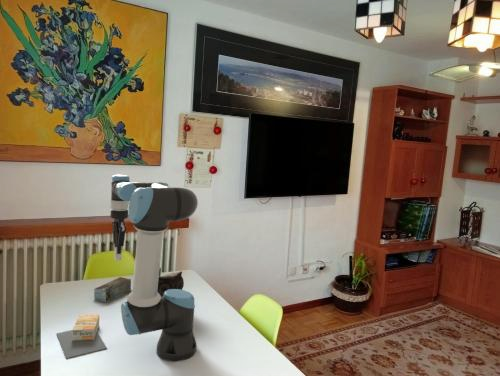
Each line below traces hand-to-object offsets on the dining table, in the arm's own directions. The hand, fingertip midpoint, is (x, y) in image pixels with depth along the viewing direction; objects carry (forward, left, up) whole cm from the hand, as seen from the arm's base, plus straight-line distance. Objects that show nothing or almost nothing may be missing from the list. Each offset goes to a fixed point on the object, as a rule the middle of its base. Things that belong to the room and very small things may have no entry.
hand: (117, 259), depth 172 cm
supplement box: (-9, +14, -22) cm, 27 cm away
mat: (-20, +19, -24) cm, 37 cm away
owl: (-12, -20, -25) cm, 34 cm away
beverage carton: (+19, -4, -25) cm, 32 cm away
